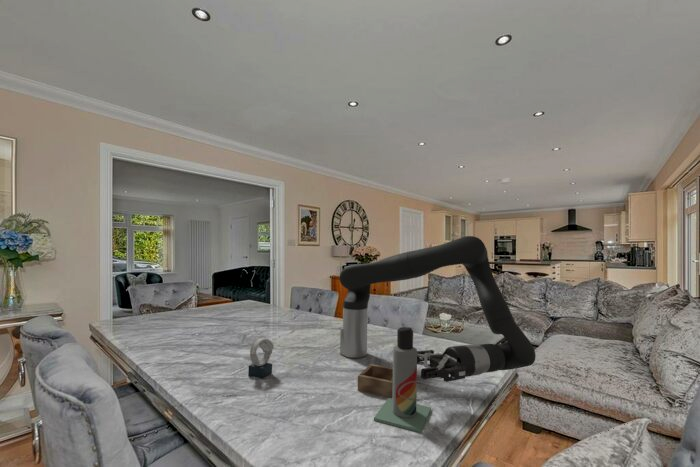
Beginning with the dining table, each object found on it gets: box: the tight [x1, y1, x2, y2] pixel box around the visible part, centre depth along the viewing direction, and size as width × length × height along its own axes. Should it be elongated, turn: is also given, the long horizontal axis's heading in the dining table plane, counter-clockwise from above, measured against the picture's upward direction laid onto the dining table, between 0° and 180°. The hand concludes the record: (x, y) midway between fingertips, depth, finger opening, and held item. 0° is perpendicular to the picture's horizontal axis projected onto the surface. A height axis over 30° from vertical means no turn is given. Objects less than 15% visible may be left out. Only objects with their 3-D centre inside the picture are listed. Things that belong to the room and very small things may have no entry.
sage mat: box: [373, 397, 432, 434], centre depth 76 cm, size 11×11×1 cm
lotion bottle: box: [392, 326, 418, 418], centre depth 77 cm, size 6×6×20 cm
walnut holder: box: [357, 363, 393, 398], centre depth 91 cm, size 10×10×4 cm
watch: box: [247, 337, 275, 380], centre depth 99 cm, size 6×8×11 cm
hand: (412, 367), depth 77 cm, fingers open, 8 cm apart
